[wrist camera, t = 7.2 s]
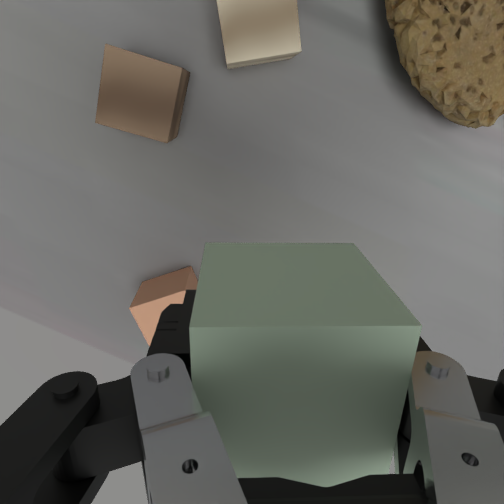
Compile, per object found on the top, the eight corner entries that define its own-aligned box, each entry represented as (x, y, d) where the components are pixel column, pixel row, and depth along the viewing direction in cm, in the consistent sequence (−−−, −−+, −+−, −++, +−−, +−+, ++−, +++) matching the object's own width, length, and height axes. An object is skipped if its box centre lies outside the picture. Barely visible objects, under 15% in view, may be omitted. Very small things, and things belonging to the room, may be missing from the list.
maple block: (215, -6, 28) (212, -27, 23) (282, -17, 27) (293, -41, 23) (227, 69, 29) (226, 63, 25) (290, 58, 29) (301, 51, 25)
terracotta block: (142, 281, 36) (129, 308, 31) (191, 265, 36) (185, 290, 31) (163, 323, 38) (153, 354, 33) (209, 308, 37) (206, 338, 33)
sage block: (205, 242, 12) (188, 327, 8) (353, 243, 13) (422, 326, 8) (208, 364, 14) (196, 491, 10) (337, 363, 15) (385, 485, 10)
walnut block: (126, 52, 29) (105, 43, 24) (190, 72, 29) (182, 67, 25) (116, 119, 30) (95, 122, 26) (177, 136, 31) (167, 143, 27)
